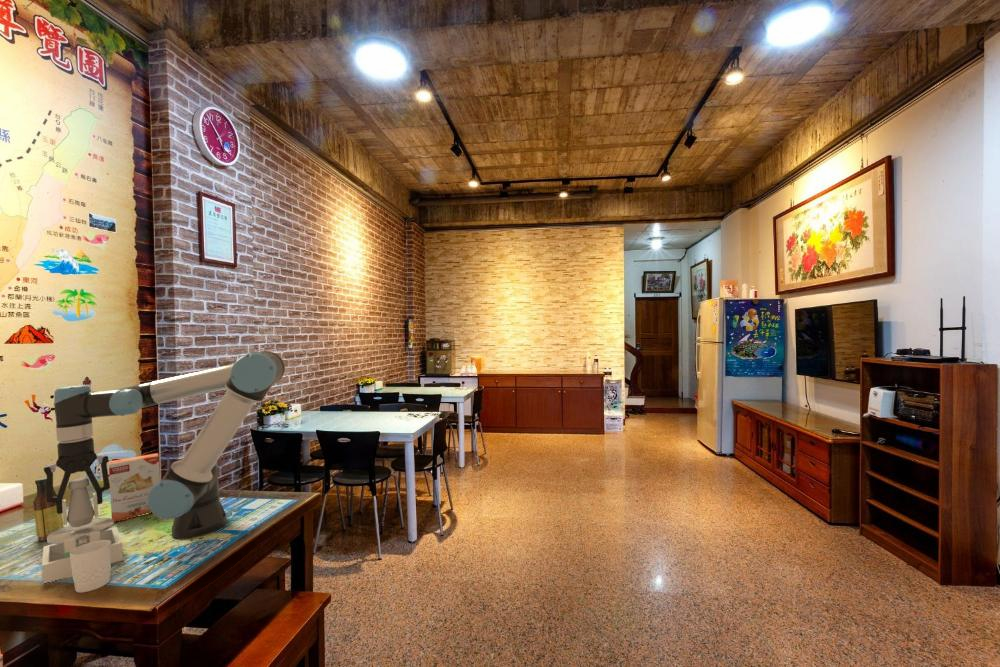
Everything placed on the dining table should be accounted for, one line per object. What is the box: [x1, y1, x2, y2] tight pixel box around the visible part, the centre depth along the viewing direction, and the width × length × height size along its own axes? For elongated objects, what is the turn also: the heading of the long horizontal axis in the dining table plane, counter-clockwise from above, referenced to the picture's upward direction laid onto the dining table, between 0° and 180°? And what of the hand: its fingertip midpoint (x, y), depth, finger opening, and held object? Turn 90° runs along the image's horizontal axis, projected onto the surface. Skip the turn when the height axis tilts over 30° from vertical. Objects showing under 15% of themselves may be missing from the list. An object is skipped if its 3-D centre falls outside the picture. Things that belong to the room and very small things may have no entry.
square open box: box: [41, 526, 124, 585], centre depth 127 cm, size 17×16×10 cm
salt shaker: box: [67, 477, 95, 527], centre depth 128 cm, size 6×6×13 cm
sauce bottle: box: [32, 476, 65, 542], centre depth 145 cm, size 7×6×20 cm
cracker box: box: [108, 452, 161, 523], centre depth 161 cm, size 14×6×21 cm, turn 129°
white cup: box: [70, 540, 112, 593], centre depth 115 cm, size 8×8×10 cm
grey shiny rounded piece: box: [46, 517, 115, 548], centre depth 127 cm, size 18×14×6 cm
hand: (81, 519), depth 128 cm, fingers closed on salt shaker, 6 cm apart
